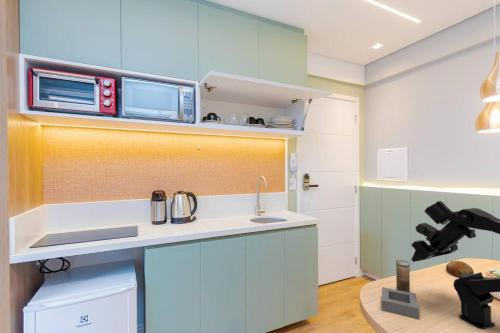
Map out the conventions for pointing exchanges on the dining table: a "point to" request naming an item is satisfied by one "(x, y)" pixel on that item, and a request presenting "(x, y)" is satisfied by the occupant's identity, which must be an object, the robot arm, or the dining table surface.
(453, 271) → the bread roll
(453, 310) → the dining table surface
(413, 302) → the grey square frame
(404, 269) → the post
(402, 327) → the dining table surface
